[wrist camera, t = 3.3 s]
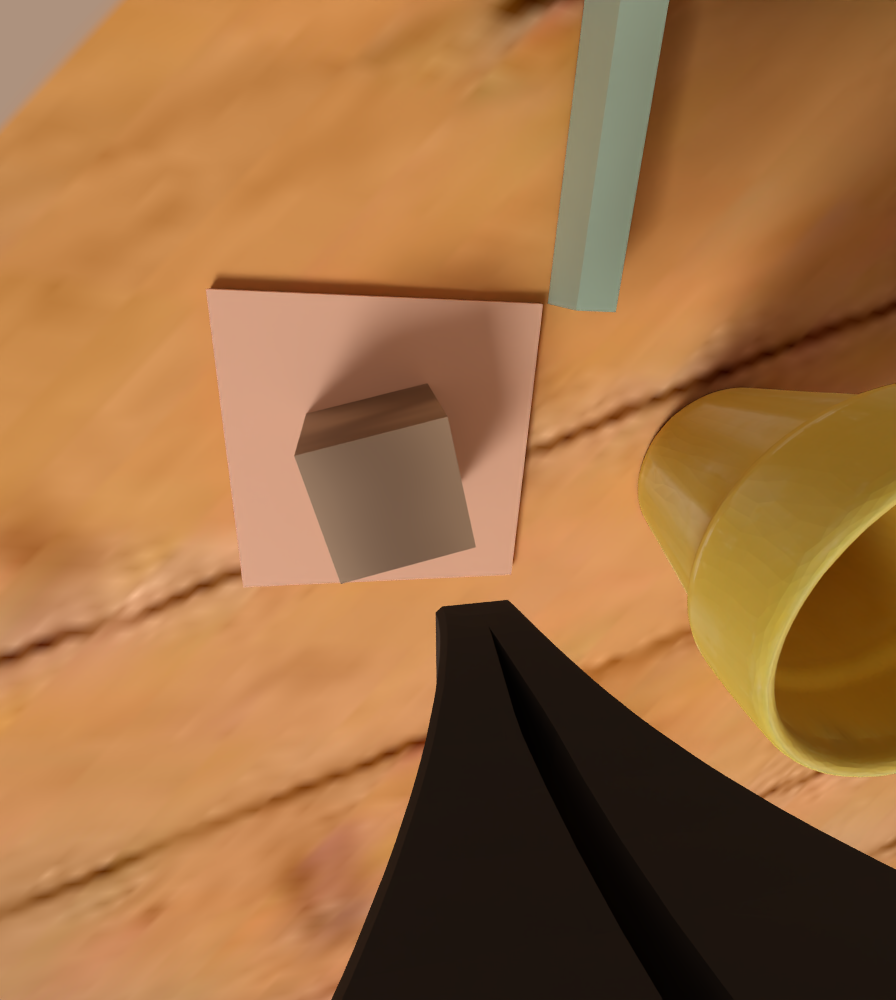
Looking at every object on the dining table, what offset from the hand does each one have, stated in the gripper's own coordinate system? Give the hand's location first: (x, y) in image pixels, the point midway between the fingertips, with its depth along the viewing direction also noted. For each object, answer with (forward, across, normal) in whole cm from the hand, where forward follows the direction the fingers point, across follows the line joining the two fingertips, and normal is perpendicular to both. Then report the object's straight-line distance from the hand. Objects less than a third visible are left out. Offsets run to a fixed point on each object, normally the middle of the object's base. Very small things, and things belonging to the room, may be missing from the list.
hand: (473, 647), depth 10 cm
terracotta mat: (+10, +1, 0) cm, 10 cm away
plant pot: (+10, -12, +1) cm, 16 cm away
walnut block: (+10, +1, 0) cm, 10 cm away
